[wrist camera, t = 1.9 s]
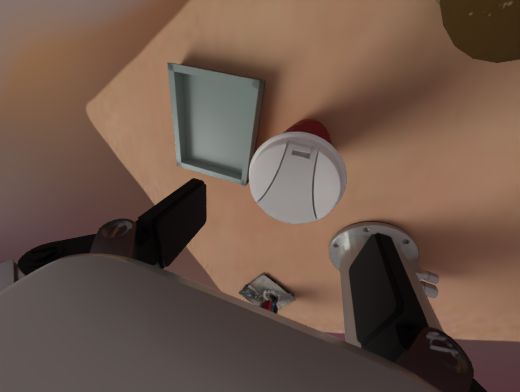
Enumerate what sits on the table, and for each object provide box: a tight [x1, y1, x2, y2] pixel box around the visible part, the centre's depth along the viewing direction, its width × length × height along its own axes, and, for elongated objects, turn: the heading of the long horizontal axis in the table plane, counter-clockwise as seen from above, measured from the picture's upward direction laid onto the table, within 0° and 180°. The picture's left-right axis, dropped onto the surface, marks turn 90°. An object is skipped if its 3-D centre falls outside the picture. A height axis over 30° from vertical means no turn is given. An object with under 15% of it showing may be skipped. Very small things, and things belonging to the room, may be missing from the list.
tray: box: [168, 63, 265, 186], centre depth 27 cm, size 12×14×2 cm
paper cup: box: [249, 120, 347, 224], centre depth 20 cm, size 8×8×14 cm
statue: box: [239, 273, 296, 314], centre depth 40 cm, size 11×9×15 cm
